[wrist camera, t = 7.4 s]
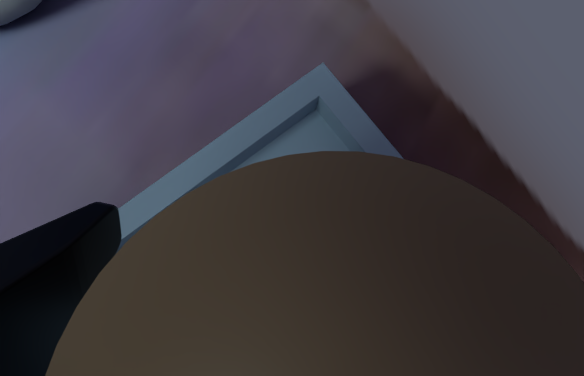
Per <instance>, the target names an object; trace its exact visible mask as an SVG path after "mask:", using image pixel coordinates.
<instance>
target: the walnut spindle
mask: <svg viewBox="0 0 584 376" xmlns="http://www.w3.org/2000/svg"><path fill="white" fill-rule="evenodd" d="M45 376H584V283H583V281H582V280H581V278H580V277H579V276H578V274H577V273H576V272H575V271H574V270H573V269H572V267H571V266H570V265H569V264H568V263H567V262H566V261H565V259H564V258H563V257H562V256H561V255H560V254H559V252H558V251H557V250H556V249H555V248H554V247H553V246H552V245H551V244H550V243H549V242H548V241H547V240H546V239H545V238H544V237H543V236H542V235H541V234H540V233H538V232H537V231H536V230H535V229H534V228H533V227H532V226H531V225H530V224H529V223H528V222H527V221H525V220H524V219H523V218H522V217H520V216H519V215H517V214H516V213H515V212H513V211H512V210H511V209H509V208H508V207H506V206H505V205H504V204H502V203H501V202H500V201H498V200H497V199H495V198H494V197H492V196H490V195H489V194H487V193H485V192H483V191H482V190H480V189H478V188H476V187H474V186H473V185H471V184H469V183H467V182H465V181H464V180H462V179H459V178H457V177H454V176H452V175H450V174H447V173H445V172H442V171H440V170H437V169H435V168H433V167H430V166H427V165H424V164H420V163H416V162H413V161H409V160H405V159H402V158H398V157H394V156H387V155H380V154H373V153H366V152H359V151H318V152H309V153H300V154H291V155H285V156H281V157H277V158H273V159H269V160H265V161H261V162H257V163H253V164H250V165H247V166H245V167H242V168H240V169H237V170H234V171H232V172H229V173H227V174H224V175H221V176H219V177H217V178H215V179H213V180H211V181H209V182H208V183H206V184H204V185H202V186H200V187H198V188H196V189H194V190H193V191H191V192H189V193H187V194H185V195H184V196H183V197H181V198H180V199H178V200H177V201H175V202H174V203H173V204H171V205H170V206H168V207H167V208H166V209H164V210H163V211H161V212H160V213H158V214H157V215H156V216H154V217H153V218H152V219H151V220H150V221H149V222H148V223H147V224H146V225H144V226H143V227H142V228H141V229H140V230H139V231H138V232H137V233H136V234H135V235H133V236H132V237H131V238H130V239H129V240H128V241H127V242H126V243H125V244H124V245H123V246H122V248H121V249H120V250H119V251H118V252H117V253H116V254H115V256H114V257H113V258H112V259H111V260H110V261H109V263H108V264H107V265H106V266H105V267H104V268H103V269H102V271H101V272H100V273H99V274H98V276H97V277H96V279H95V280H94V282H93V283H92V285H91V286H90V288H89V289H88V291H87V292H86V294H85V295H84V297H83V298H82V300H81V301H80V303H79V304H78V306H77V307H76V309H75V311H74V313H73V315H72V317H71V319H70V320H69V322H68V324H67V326H66V328H65V330H64V332H63V334H62V336H61V338H60V340H59V342H58V344H57V346H56V348H55V351H54V354H53V356H52V359H51V362H50V364H49V367H48V370H47V372H46V375H45Z"/></svg>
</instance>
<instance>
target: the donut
mask: <svg viewBox="0 0 584 376" xmlns="http://www.w3.org/2000/svg"><path fill="white" fill-rule="evenodd" d="M41 1H42V0H0V26H1V25H5V24H8V23H10V22H11V21H13V20H15V19H17V18H19V17H21V16H23V15H25V14H26V13H28V12H30V11H32V10H33V9H35V8H36V7H37V6H38V4H39V3H40V2H41Z"/></svg>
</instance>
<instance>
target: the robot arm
mask: <svg viewBox="0 0 584 376" xmlns="http://www.w3.org/2000/svg"><path fill="white" fill-rule="evenodd" d="M121 238H122V233H121V225H120V216H119V210H118V208H117V207H116V206H114V205H111V204H106V203H102V202H94V203H91V204H89V205H87V206H85V207H82V208H80V209H78V210H75V211H73V212H71V213H69V214H66V215H64V216H62V217H60V218H57V219H55V220H53V221H51V222H48V223H46V224H44V225H41V226H39V227H37V228H35V229H32V230H30V231H28V232H26V233H23V234H21V235H19V236H16V237H14V238H12V239H10V240H7V241H5V242H3V243H1V244H0V376H45V375H46V372H47V370H48V367H49V364H50V362H51V359H52V356H53V354H54V351H55V348H56V346H57V344H58V342H59V340H60V338H61V336H62V334H63V332H64V330H65V328H66V326H67V324H68V322H69V320H70V319H71V317H72V315H73V313H74V311H75V309H76V307H77V306H78V304H79V303H80V301H81V300H82V298H83V297H84V295H85V294H86V292H87V291H88V289H89V288H90V286H91V285H92V283H93V282H94V280H95V279H96V277H97V276H98V274H99V273H100V272H101V271H102V269H103V268H104V267H105V266H106V265H107V264H108V263H109V261H110V260H111V259H112V258H113V257H114V256H115V254H116V252H117V250H118V248H119V246H120V243H121Z"/></svg>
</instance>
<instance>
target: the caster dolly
mask: <svg viewBox="0 0 584 376" xmlns="http://www.w3.org/2000/svg"><path fill="white" fill-rule="evenodd" d="M318 151H359V152H366V153H373V154H380V155H387V156H394V157H398V158H402V159H403V157H402V156H401V155H400V154H399V153H398V152H397V150H396V149H395V148H394V147H393V146H392V144H391V143H390V142H389V141H388V140H387V138H386V137H385V136H384V135H383V134H382V132H381V131H380V130H379V129H378V128H377V126H376V125H375V124H374V123H373V122H372V120H371V119H370V118H369V117H368V116H367V114H366V113H365V112H364V111H363V110H362V109H361V107H360V106H359V105H358V104H357V103H356V101H355V100H354V99H353V98H352V97H351V95H350V94H349V93H348V92H347V91H346V89H345V88H344V87H343V86H342V85H341V83H340V82H339V81H338V80H337V79H336V77H335V76H334V75H333V74H332V73H331V71H330V70H329V69H328V68H327V67H326V66H325V64H324V63H322V64H320V65H319V66H317V67H316V68H315V69H313V70H312V71H310V72H309V73H308V74H306V75H305V76H303V77H302V78H301V79H299V80H298V81H297V82H295V83H294V84H292V85H291V86H290V87H288V88H287V89H285V90H284V91H283V92H281V93H280V94H278V95H277V96H276V97H274V98H273V99H271V100H270V101H269V102H267V103H266V104H264V105H263V106H262V107H260V108H259V109H257V110H256V111H255V112H253V113H252V114H250V115H249V116H248V117H246V118H245V119H243V120H242V121H241V122H239V123H238V124H236V125H235V126H234V127H232V128H231V129H229V130H228V131H227V132H225V133H224V134H222V135H221V136H220V137H218V138H217V139H215V140H214V141H213V142H211V143H210V144H208V145H207V146H206V147H204V148H203V149H201V150H200V151H199V152H197V153H196V154H194V155H193V156H192V157H190V158H189V159H187V160H186V161H185V162H183V163H182V164H180V165H179V166H178V167H176V168H175V169H173V170H172V171H171V172H169V173H168V174H166V175H165V176H164V177H162V178H161V179H159V180H158V181H157V182H155V183H154V184H152V185H151V186H150V187H148V188H147V189H145V190H144V191H143V192H141V193H140V194H138V195H137V196H136V197H134V198H133V199H131V200H130V201H129V202H127V203H126V204H124V205H123V206H122V207H120V208H119V209H118V210H119V216H120V225H121V233H122V238H121V243H120V246H119V248H118V250H117V252H118V251H119V250H120V249H121V248H122V246H123V245H124V244H125V243H126V242H127V241H128V240H129V239H130V238H131V237H132V236H133V235H135V234H136V233H137V232H138V231H139V230H140V229H141V228H142V227H143V226H144V225H146V224H147V223H148V222H149V221H150V220H151V219H152V218H153V217H154V216H156V215H157V214H158V213H160V212H161V211H163V210H164V209H166V208H167V207H168V206H170V205H171V204H173V203H174V202H175V201H177V200H178V199H180V198H181V197H183V196H184V195H185V194H187V193H189V192H191V191H193V190H194V189H196V188H198V187H200V186H202V185H204V184H206V183H208V182H209V181H211V180H213V179H215V178H217V177H219V176H221V175H224V174H227V173H229V172H232V171H234V170H237V169H240V168H242V167H245V166H247V165H250V164H253V163H257V162H261V161H265V160H269V159H273V158H277V157H281V156H285V155H291V154H300V153H309V152H318ZM117 252H116V253H117Z"/></svg>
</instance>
